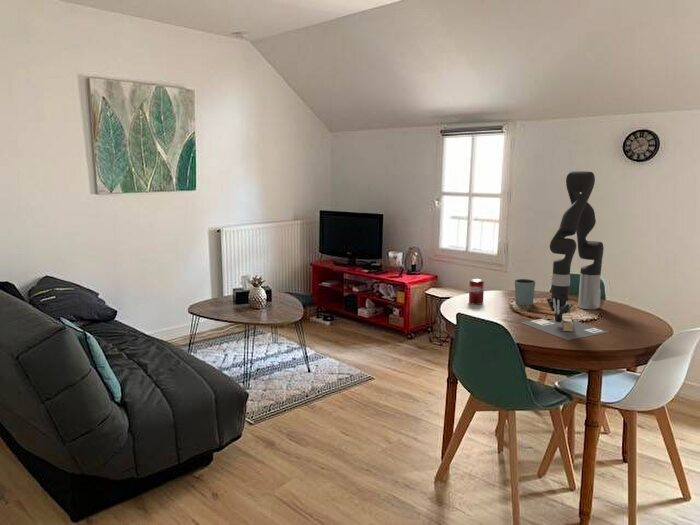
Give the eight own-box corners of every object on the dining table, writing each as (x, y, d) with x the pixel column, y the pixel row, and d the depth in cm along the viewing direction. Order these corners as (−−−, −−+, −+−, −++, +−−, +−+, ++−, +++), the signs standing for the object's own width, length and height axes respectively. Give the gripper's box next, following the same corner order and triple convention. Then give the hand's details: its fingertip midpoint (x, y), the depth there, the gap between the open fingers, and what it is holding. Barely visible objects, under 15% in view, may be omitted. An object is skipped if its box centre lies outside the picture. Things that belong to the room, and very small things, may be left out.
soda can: (483, 305, 274) (484, 282, 272) (468, 304, 276) (469, 281, 274) (482, 301, 281) (483, 279, 279) (468, 301, 283) (469, 278, 281)
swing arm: (558, 316, 251) (559, 307, 250) (568, 316, 249) (569, 308, 249) (562, 330, 229) (563, 321, 228) (573, 331, 227) (574, 322, 227)
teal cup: (536, 306, 271) (538, 282, 269) (516, 306, 271) (517, 283, 269) (530, 301, 281) (531, 278, 279) (511, 301, 281) (512, 278, 279)
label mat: (560, 316, 253) (560, 315, 253) (610, 332, 228) (610, 331, 228) (519, 322, 243) (519, 322, 243) (567, 340, 218) (567, 339, 218)
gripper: (579, 285, 229) (576, 324, 232) (555, 279, 241) (553, 316, 244) (565, 287, 226) (563, 327, 229) (542, 281, 238) (540, 319, 241)
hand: (558, 321), depth 237 cm, fingers closed
